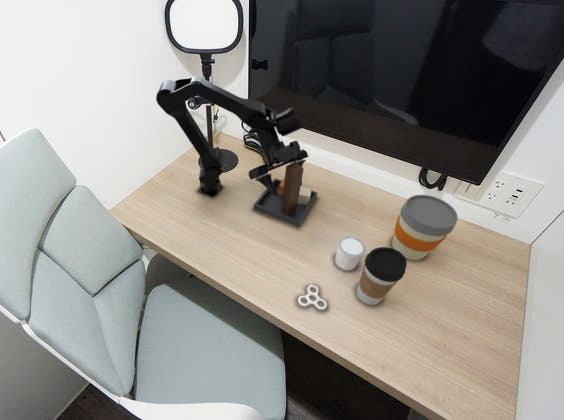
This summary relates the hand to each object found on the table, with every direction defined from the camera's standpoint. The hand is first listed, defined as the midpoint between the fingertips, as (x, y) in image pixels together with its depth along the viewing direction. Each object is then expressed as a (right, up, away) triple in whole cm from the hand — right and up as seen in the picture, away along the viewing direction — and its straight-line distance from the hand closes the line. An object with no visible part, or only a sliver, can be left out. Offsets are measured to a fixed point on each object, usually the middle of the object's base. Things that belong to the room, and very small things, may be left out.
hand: (288, 190), depth 95 cm
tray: (+1, -4, +9) cm, 10 cm away
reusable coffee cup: (+34, -17, -5) cm, 38 cm away
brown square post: (+1, -7, +5) cm, 8 cm away
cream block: (+6, -3, +9) cm, 11 cm away
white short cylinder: (+14, -20, -8) cm, 26 cm away
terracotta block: (+1, 0, +12) cm, 12 cm away
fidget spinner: (+3, -28, -16) cm, 32 cm away
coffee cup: (+18, -27, -15) cm, 36 cm away
